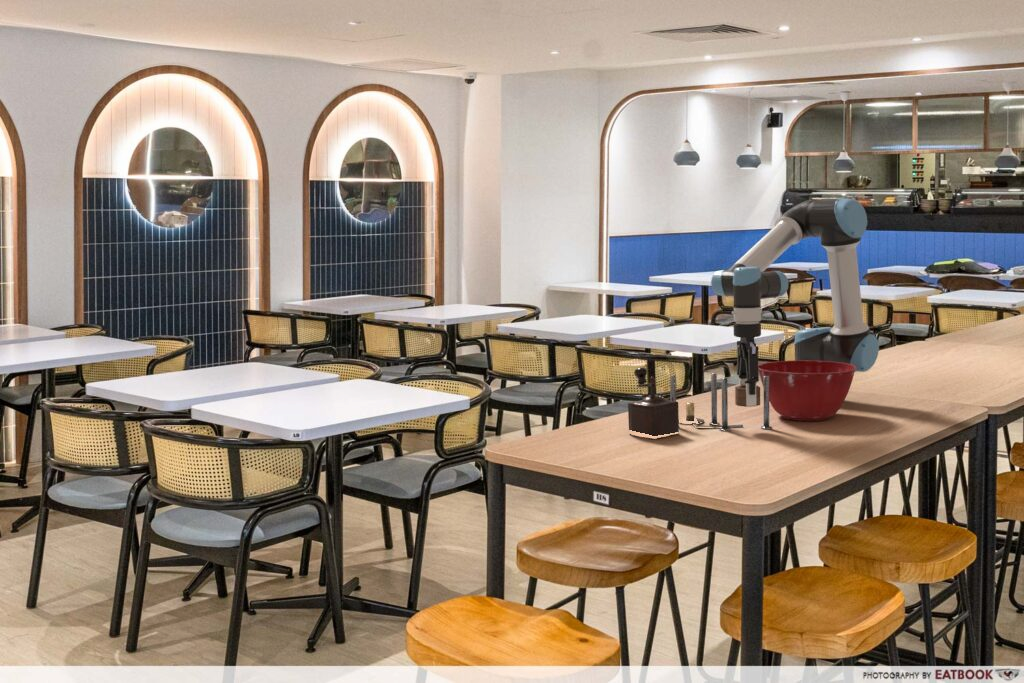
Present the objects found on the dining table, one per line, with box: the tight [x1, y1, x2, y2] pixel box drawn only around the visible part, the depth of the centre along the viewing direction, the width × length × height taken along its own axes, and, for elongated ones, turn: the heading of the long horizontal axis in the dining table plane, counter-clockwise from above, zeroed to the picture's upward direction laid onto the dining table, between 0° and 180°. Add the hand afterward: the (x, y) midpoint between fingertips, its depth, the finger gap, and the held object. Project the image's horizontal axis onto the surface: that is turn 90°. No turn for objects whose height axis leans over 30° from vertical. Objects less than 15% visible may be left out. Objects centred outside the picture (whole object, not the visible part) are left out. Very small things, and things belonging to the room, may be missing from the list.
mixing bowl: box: [758, 360, 856, 422], centre depth 340 cm, size 28×28×15 cm
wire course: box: [669, 372, 773, 432], centre depth 329 cm, size 12×28×15 cm, turn 93°
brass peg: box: [685, 401, 705, 423], centre depth 338 cm, size 8×8×6 cm
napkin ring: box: [734, 385, 761, 408], centre depth 323 cm, size 6×6×5 cm
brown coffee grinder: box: [627, 367, 680, 436], centre depth 324 cm, size 16×11×18 cm
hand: (747, 403), depth 323 cm, fingers closed on napkin ring, 6 cm apart
